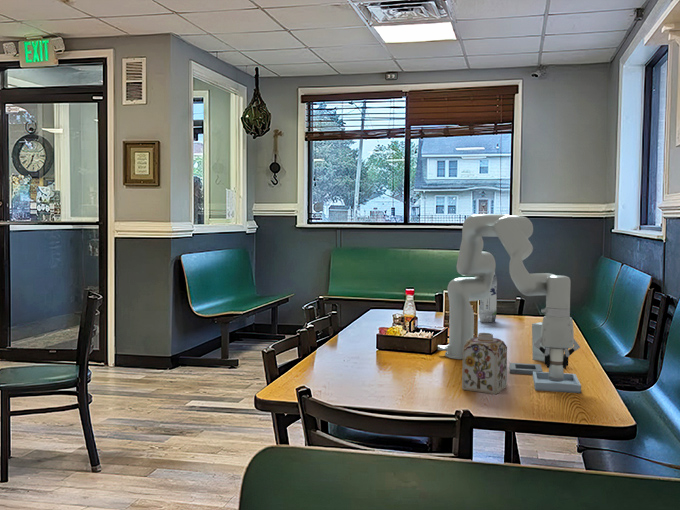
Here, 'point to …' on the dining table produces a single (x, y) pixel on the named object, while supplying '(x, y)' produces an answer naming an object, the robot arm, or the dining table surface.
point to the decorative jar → (484, 364)
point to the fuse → (556, 364)
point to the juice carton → (489, 304)
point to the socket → (524, 368)
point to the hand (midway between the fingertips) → (556, 367)
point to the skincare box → (535, 336)
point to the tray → (556, 383)
